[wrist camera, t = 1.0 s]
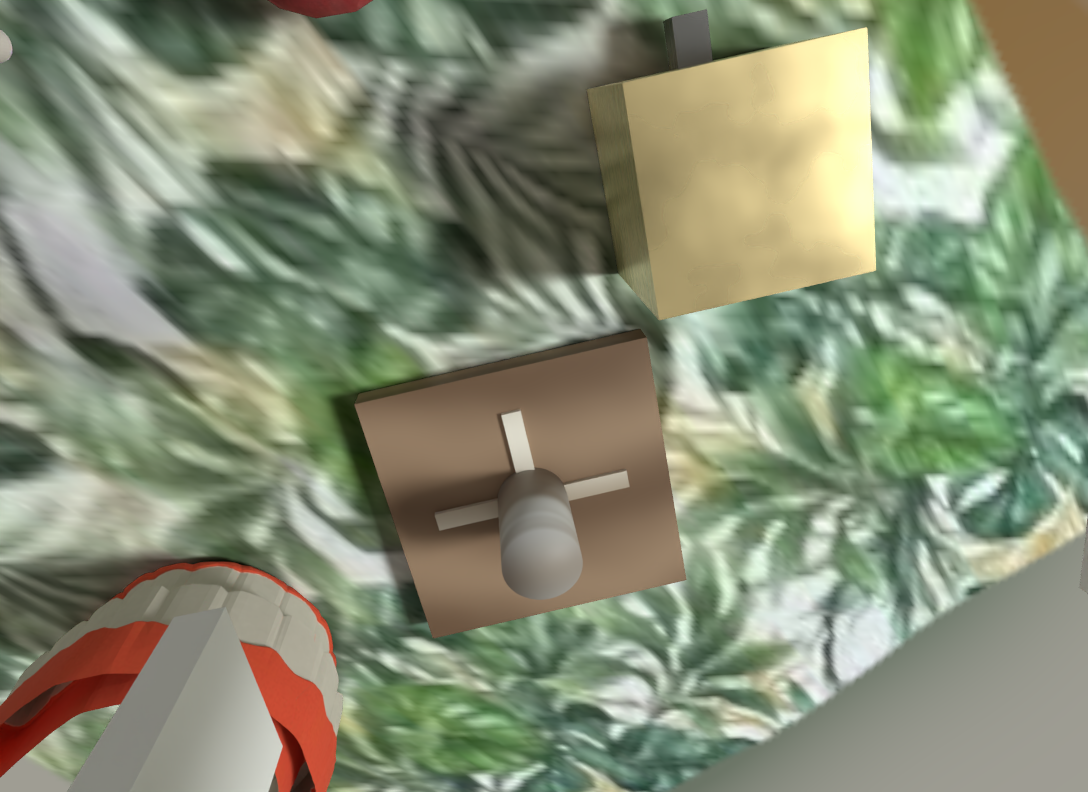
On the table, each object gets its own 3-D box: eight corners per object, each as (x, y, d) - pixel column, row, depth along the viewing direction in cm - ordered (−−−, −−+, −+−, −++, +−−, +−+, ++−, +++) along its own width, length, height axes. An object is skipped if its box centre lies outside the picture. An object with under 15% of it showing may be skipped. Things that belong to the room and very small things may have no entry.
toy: (414, 632, 35) (398, 773, 28) (282, 760, 37) (234, 922, 30) (185, 480, 31) (94, 597, 24) (52, 634, 33) (-68, 784, 26)
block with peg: (578, 42, 26) (612, 20, 20) (768, -2, 26) (864, -38, 20) (625, 311, 30) (666, 366, 24) (790, 273, 30) (877, 318, 24)
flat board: (358, 393, 30) (331, 460, 25) (640, 329, 30) (678, 380, 25) (434, 621, 35) (426, 722, 29) (679, 564, 35) (720, 655, 29)
